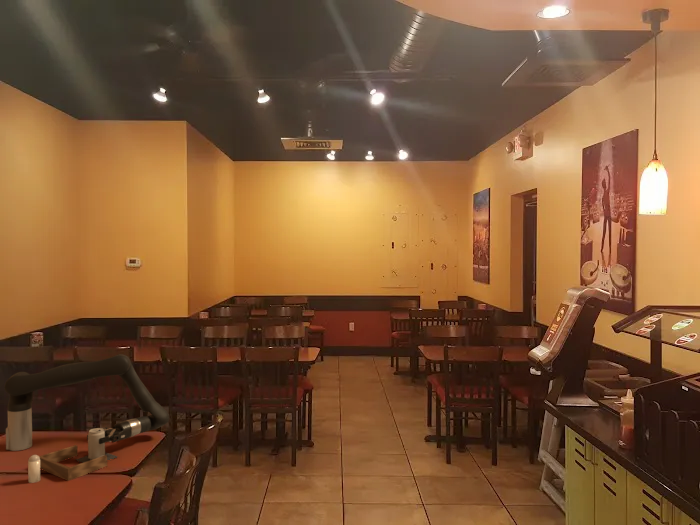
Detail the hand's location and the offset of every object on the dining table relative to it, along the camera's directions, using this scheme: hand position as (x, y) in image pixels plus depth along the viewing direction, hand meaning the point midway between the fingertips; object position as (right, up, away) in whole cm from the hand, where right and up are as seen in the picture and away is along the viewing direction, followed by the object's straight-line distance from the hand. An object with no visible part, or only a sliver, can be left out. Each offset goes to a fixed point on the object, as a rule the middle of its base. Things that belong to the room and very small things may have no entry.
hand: (93, 439), depth 232 cm
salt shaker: (-13, -9, -20) cm, 26 cm away
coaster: (+1, -9, +1) cm, 9 cm away
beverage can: (+1, -8, +1) cm, 9 cm away
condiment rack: (-5, -9, -7) cm, 13 cm away
